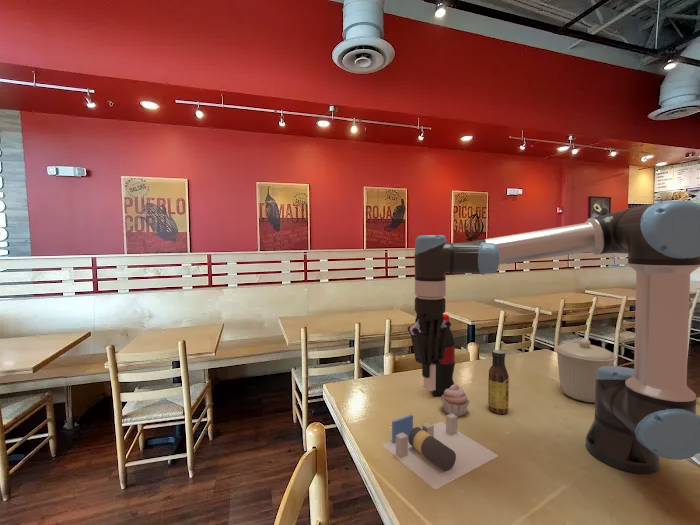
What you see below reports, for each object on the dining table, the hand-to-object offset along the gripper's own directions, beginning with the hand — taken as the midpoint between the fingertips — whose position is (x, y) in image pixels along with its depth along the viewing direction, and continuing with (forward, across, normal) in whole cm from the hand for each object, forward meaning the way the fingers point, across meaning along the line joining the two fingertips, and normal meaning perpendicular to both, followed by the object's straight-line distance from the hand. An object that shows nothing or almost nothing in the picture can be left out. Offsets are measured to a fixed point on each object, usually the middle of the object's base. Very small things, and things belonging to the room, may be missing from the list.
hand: (429, 388), depth 87 cm
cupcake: (+20, -24, -13) cm, 34 cm away
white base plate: (+19, -4, -1) cm, 20 cm away
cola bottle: (+19, -32, -25) cm, 45 cm away
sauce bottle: (+20, -38, -7) cm, 44 cm away
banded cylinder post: (+18, 0, 0) cm, 18 cm away
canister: (+20, -74, +3) cm, 76 cm away
